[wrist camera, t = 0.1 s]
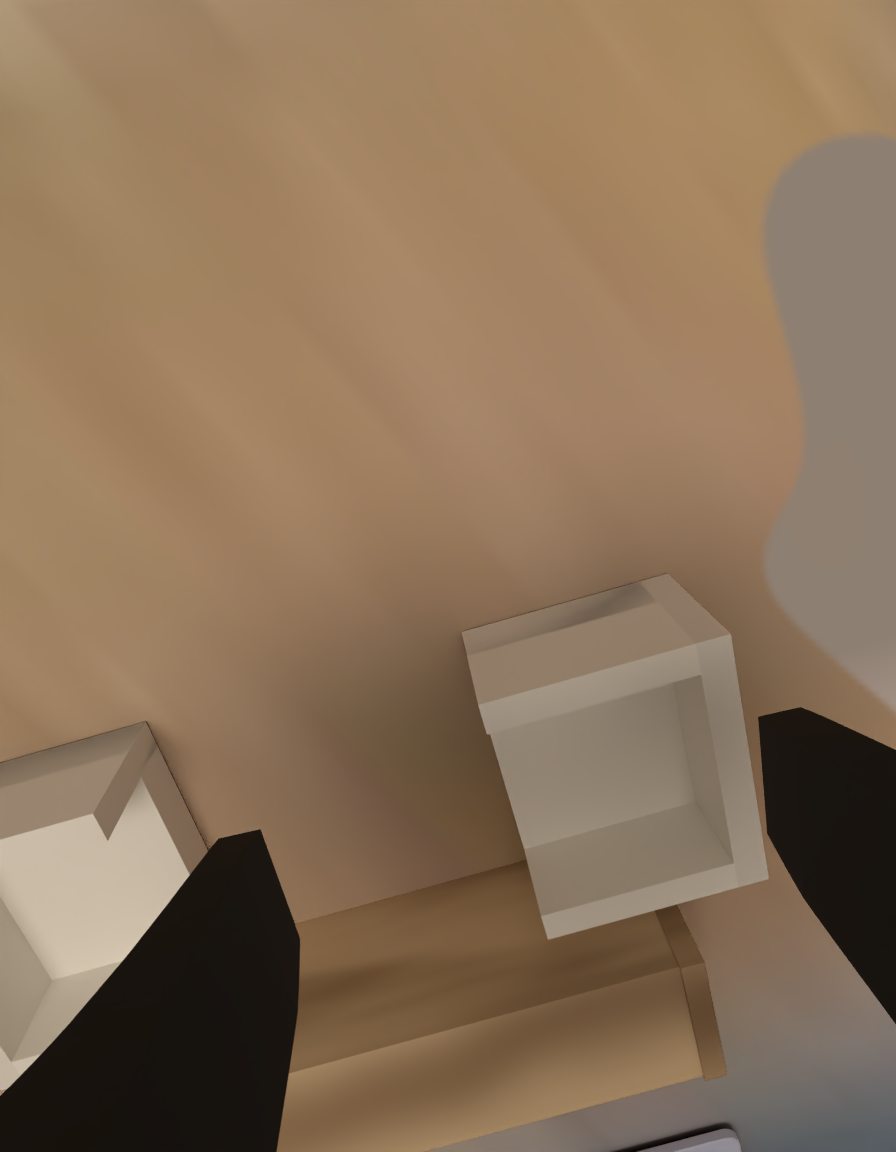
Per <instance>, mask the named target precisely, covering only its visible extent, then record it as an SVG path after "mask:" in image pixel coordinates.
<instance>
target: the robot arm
mask: <svg viewBox="0 0 896 1152" xmlns="http://www.w3.org/2000/svg"><path fill="white" fill-rule="evenodd" d="M758 721H759V733H760V746H761V759H762V772H763V785H764V797H765V810H766V823H767V834H768V836H769V837H770V839H771V841H772V843H773V845H774V847H775V848H776V850H777V852H778V854H779V856H780V858H781V859H782V861H783V863H784V865H785V867H786V869H787V870H788V872H789V874H790V875H791V877H792V879H793V881H794V882H795V884H796V886H797V888H798V889H799V891H800V893H801V894H802V896H803V898H804V899H805V901H806V902H807V904H808V905H809V906H810V908H811V909H812V911H813V912H814V913H815V915H816V916H817V918H818V919H819V920H820V922H821V923H822V924H823V926H824V927H825V929H826V930H827V931H828V933H829V934H830V935H831V937H832V938H833V940H834V941H835V942H836V944H837V945H838V946H839V948H840V949H841V951H842V952H843V953H844V955H845V956H846V957H847V959H848V960H849V961H850V963H851V964H852V965H853V967H854V968H855V969H856V971H857V972H858V973H859V975H860V976H861V978H862V979H863V980H864V982H865V983H866V984H867V986H868V987H869V988H870V990H871V991H872V992H873V994H874V995H875V996H876V998H877V999H878V1001H879V1002H880V1003H881V1005H882V1006H883V1007H884V1009H885V1010H886V1011H887V1013H888V1014H889V1015H890V1017H891V1018H892V1020H893V1021H894V1022H895V1024H896V750H895V749H892V748H890V747H888V746H886V745H884V744H882V743H880V742H877V741H875V740H873V739H871V738H869V737H867V736H864V735H862V734H860V733H858V732H856V731H854V730H851V729H849V728H847V727H845V726H843V725H841V724H838V723H836V722H834V721H832V720H830V719H827V718H825V717H823V716H821V715H818V714H816V713H814V712H811V711H809V710H806V709H804V708H801V707H799V708H795V709H791V710H786V711H782V712H777V713H773V714H769V715H764V716H760V717H758ZM299 974H300V937H299V934H298V931H297V929H296V926H295V923H294V920H293V918H292V915H291V912H290V909H289V907H288V904H287V901H286V898H285V896H284V893H283V890H282V887H281V885H280V882H279V879H278V876H277V874H276V871H275V868H274V865H273V863H272V860H271V857H270V854H269V852H268V849H267V846H266V843H265V841H264V838H263V835H262V832H261V830H255V831H251V832H246V833H242V834H238V835H233V836H229V837H224V838H220V839H218V840H217V841H216V842H215V844H214V845H213V846H212V847H211V848H210V850H209V851H208V852H207V853H206V855H205V856H204V857H203V858H202V860H201V861H200V862H199V864H198V865H197V866H196V868H195V869H194V870H193V871H192V873H191V874H190V875H189V877H188V878H187V879H186V881H185V882H184V883H183V885H182V886H181V887H180V888H179V890H178V891H177V892H176V894H175V895H174V896H173V898H172V899H171V900H170V902H169V903H168V904H167V905H166V907H165V908H164V909H163V911H162V912H161V913H160V914H159V916H158V917H157V918H156V919H155V921H154V922H153V923H152V925H151V926H150V927H149V928H148V930H147V931H146V932H145V933H144V935H143V936H142V937H141V939H140V940H139V941H138V942H137V944H136V945H135V946H134V947H133V949H132V950H131V951H130V953H129V954H128V955H127V956H126V957H125V959H124V960H123V961H122V962H121V963H120V965H119V966H118V967H117V968H116V969H115V970H114V972H113V973H112V974H111V975H110V976H109V977H108V979H107V980H106V981H105V982H104V983H103V984H102V986H101V987H100V988H99V989H98V990H97V992H96V993H95V994H94V995H93V996H92V997H91V999H90V1000H89V1001H88V1002H87V1003H86V1004H85V1006H84V1007H83V1008H82V1009H81V1010H80V1011H79V1013H78V1014H77V1015H76V1016H75V1017H74V1019H73V1020H72V1021H71V1022H70V1023H69V1024H68V1025H67V1027H66V1028H65V1029H64V1030H63V1031H62V1032H61V1033H60V1034H59V1035H58V1037H57V1038H56V1039H55V1040H54V1041H53V1042H52V1043H51V1044H50V1045H49V1046H48V1047H47V1048H46V1049H45V1051H44V1052H43V1053H42V1054H41V1055H40V1056H39V1057H38V1058H37V1059H36V1060H35V1061H34V1062H33V1063H32V1064H31V1065H30V1066H29V1067H28V1068H27V1069H26V1070H25V1071H24V1072H23V1074H22V1075H21V1076H20V1077H19V1078H18V1079H17V1080H16V1081H15V1082H14V1083H13V1084H12V1085H11V1086H10V1087H9V1088H8V1089H7V1090H6V1091H5V1092H4V1093H3V1094H2V1095H1V1096H0V1152H277V1146H278V1139H279V1133H280V1127H281V1120H282V1114H283V1108H284V1101H285V1095H286V1089H287V1082H288V1076H289V1069H290V1063H291V1056H292V1049H293V1043H294V1036H295V1029H296V1022H297V1015H298V998H299ZM638 1152H742V1151H741V1146H740V1142H739V1140H738V1138H737V1135H736V1133H735V1132H734V1131H733V1130H731V1129H719V1130H716V1131H712V1132H708V1133H705V1134H701V1135H697V1136H693V1137H690V1138H686V1139H682V1140H679V1141H675V1142H671V1143H667V1144H664V1145H660V1146H656V1147H652V1148H649V1149H645V1150H641V1151H638Z"/></svg>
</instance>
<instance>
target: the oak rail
mask: <svg viewBox="0 0 896 1152" xmlns="http://www.w3.org/2000/svg"><path fill="white" fill-rule="evenodd" d="M295 926H296V929H297V931H298V934H299V937H300V974H299V998H298V1015H297V1022H296V1029H295V1036H294V1043H293V1049H292V1056H291V1063H290V1069H289V1076H288V1082H287V1089H286V1095H285V1101H284V1108H283V1114H282V1120H281V1127H280V1133H279V1139H278V1146H277V1152H424V1151H428V1150H432V1149H435V1148H439V1147H443V1146H446V1145H450V1144H454V1143H458V1142H461V1141H465V1140H469V1139H472V1138H476V1137H480V1136H484V1135H487V1134H491V1133H495V1132H498V1131H502V1130H506V1129H509V1128H513V1127H517V1126H521V1125H524V1124H528V1123H532V1122H535V1121H539V1120H543V1119H547V1118H550V1117H554V1116H558V1115H561V1114H565V1113H569V1112H572V1111H576V1110H580V1109H584V1108H587V1107H591V1106H595V1105H598V1104H602V1103H606V1102H609V1101H613V1100H617V1099H621V1098H624V1097H628V1096H632V1095H635V1094H639V1093H643V1092H647V1091H650V1090H654V1089H658V1088H661V1087H665V1086H669V1085H672V1084H676V1083H680V1082H684V1081H687V1080H691V1079H695V1078H698V1077H702V1076H704V1079H705V1081H707V1080H711V1079H715V1078H718V1077H722V1076H726V1075H727V1070H726V1066H725V1061H724V1056H723V1051H722V1046H721V1041H720V1036H719V1031H718V1026H717V1021H716V1016H715V1012H714V1007H713V1002H712V997H711V992H710V987H709V982H708V977H707V972H706V967H705V962H704V960H703V958H702V956H701V954H700V952H699V950H698V948H697V946H696V944H695V942H694V940H693V937H692V935H691V933H690V931H689V929H688V927H687V925H686V923H685V921H684V919H683V917H682V915H681V913H680V911H679V909H678V906H677V904H676V905H673V906H669V907H666V908H662V909H658V910H655V911H651V912H647V913H644V914H640V915H636V916H633V917H629V918H625V919H622V920H618V921H615V922H611V923H607V924H604V925H600V926H596V927H593V928H589V929H585V930H582V931H578V932H575V933H571V934H567V935H564V936H560V937H556V938H553V939H549V940H548V938H547V935H546V931H545V928H544V925H543V921H542V918H541V914H540V910H539V906H538V902H537V898H536V894H535V891H534V887H533V883H532V879H531V875H530V871H529V867H528V863H527V860H524V861H521V862H517V863H513V864H510V865H506V866H503V867H499V868H495V869H492V870H488V871H485V872H481V873H477V874H474V875H470V876H467V877H463V878H459V879H456V880H452V881H449V882H445V883H441V884H438V885H434V886H430V887H427V888H423V889H420V890H416V891H412V892H409V893H405V894H402V895H398V896H394V897H391V898H387V899H384V900H380V901H376V902H373V903H369V904H366V905H362V906H358V907H355V908H351V909H348V910H344V911H340V912H337V913H333V914H329V915H326V916H322V917H319V918H315V919H311V920H308V921H304V922H301V923H297V924H295Z"/></svg>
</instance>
